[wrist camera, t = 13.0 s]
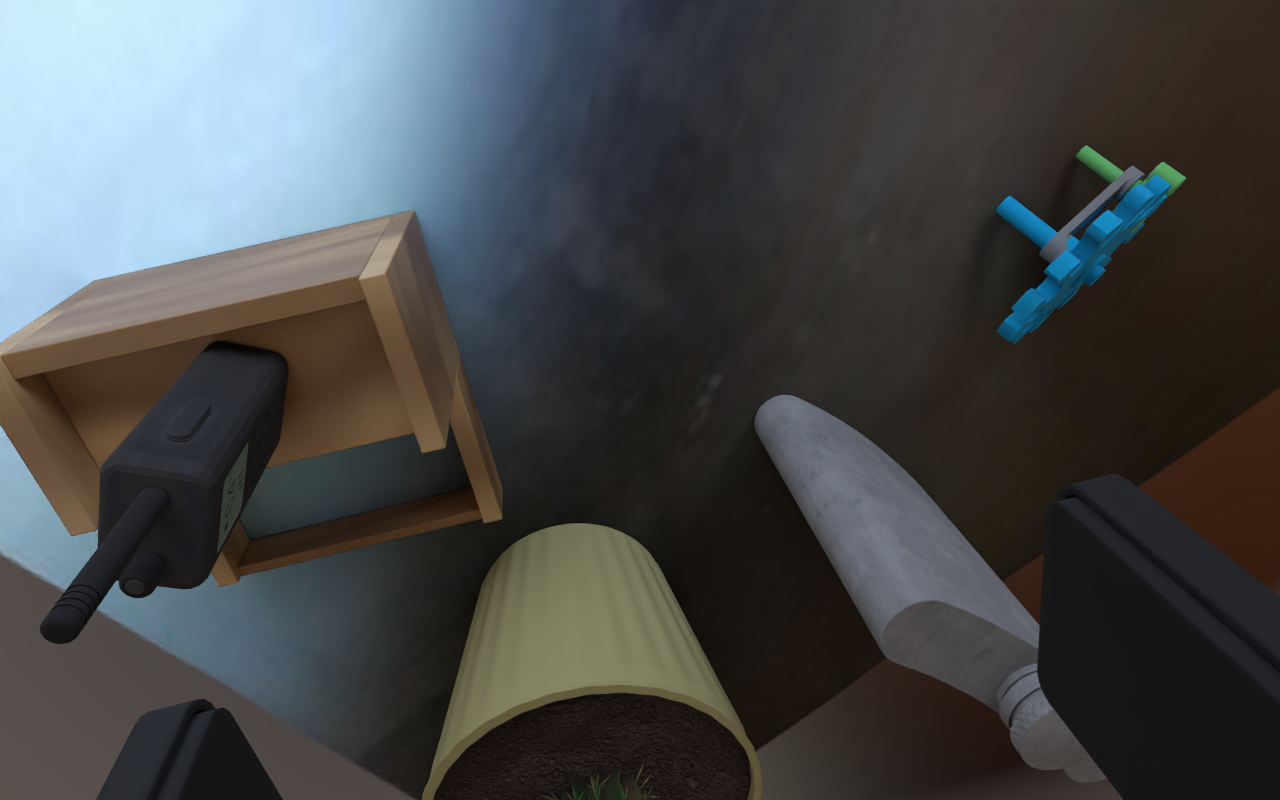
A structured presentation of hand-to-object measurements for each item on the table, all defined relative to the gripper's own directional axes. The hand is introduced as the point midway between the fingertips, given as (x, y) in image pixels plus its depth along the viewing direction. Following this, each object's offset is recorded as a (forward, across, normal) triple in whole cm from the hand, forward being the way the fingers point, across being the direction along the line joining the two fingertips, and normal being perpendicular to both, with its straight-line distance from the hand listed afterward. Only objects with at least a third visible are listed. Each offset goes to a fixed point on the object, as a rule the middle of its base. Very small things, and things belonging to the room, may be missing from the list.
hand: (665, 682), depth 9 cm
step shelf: (+32, +14, +8) cm, 36 cm away
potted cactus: (+32, +4, +25) cm, 41 cm away
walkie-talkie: (+24, +14, +4) cm, 29 cm away
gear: (+32, -25, +9) cm, 42 cm away
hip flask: (+32, -14, +21) cm, 41 cm away
